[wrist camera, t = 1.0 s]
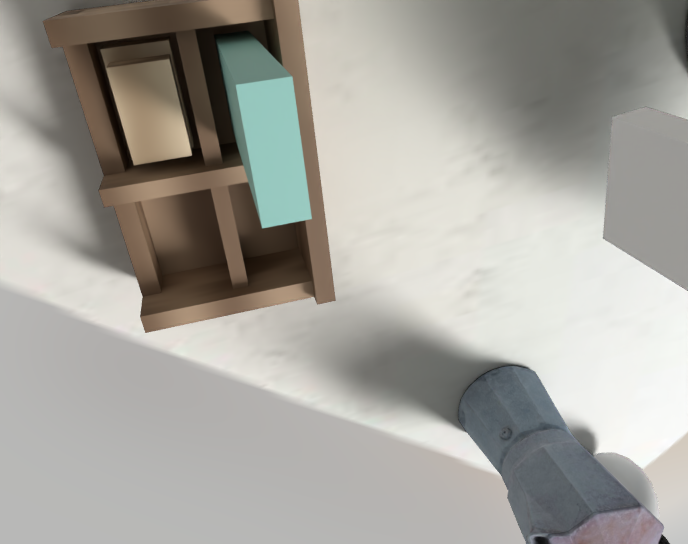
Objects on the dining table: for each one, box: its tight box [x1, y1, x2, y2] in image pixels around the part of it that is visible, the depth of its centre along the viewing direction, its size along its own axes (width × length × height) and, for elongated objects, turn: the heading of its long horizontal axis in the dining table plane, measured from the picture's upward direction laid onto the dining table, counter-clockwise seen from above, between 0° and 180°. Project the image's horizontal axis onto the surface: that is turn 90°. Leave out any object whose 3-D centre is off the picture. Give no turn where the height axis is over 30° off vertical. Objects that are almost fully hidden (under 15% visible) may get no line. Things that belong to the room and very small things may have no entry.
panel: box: [214, 30, 312, 228], centre depth 28 cm, size 2×6×16 cm, turn 6°
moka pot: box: [458, 366, 670, 544], centre depth 47 cm, size 10×15×20 cm, turn 69°
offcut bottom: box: [100, 36, 194, 154], centre depth 33 cm, size 4×6×2 cm, turn 6°
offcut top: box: [106, 54, 192, 165], centre depth 32 cm, size 3×5×2 cm, turn 6°
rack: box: [43, 0, 336, 333], centre depth 35 cm, size 12×18×8 cm, turn 6°
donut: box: [594, 453, 660, 520], centre depth 60 cm, size 10×4×10 cm, turn 163°
